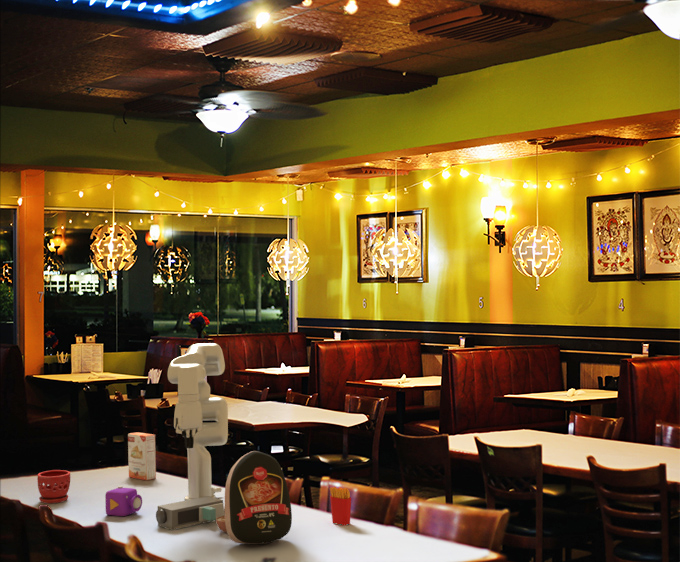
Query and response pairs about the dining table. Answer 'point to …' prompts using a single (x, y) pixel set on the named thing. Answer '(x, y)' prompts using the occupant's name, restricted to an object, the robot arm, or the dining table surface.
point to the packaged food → (257, 500)
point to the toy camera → (122, 501)
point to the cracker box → (141, 456)
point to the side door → (211, 512)
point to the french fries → (340, 505)
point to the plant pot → (53, 486)
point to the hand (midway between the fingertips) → (189, 447)
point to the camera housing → (183, 512)
